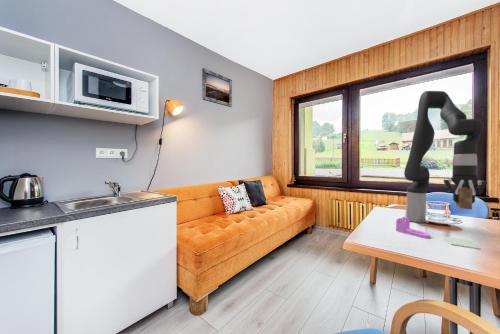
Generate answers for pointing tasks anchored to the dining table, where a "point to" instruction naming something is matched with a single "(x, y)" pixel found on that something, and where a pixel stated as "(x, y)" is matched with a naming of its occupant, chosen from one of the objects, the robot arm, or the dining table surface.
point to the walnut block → (465, 198)
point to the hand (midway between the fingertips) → (463, 202)
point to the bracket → (405, 228)
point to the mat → (461, 242)
